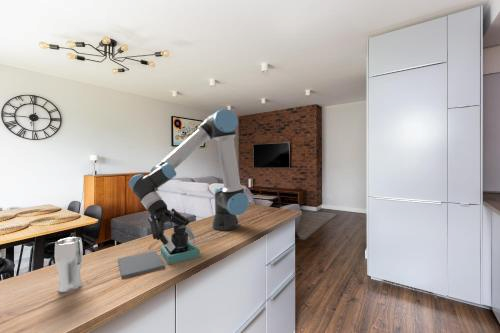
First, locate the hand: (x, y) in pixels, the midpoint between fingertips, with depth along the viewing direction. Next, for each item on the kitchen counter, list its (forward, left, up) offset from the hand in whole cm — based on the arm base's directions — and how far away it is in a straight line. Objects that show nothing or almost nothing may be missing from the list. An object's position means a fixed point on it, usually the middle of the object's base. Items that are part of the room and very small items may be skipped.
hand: (184, 243), depth 97 cm
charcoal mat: (+16, -2, -5) cm, 17 cm away
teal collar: (+1, -2, -5) cm, 6 cm away
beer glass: (+37, +3, -5) cm, 38 cm away
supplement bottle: (+1, -2, -5) cm, 6 cm away
